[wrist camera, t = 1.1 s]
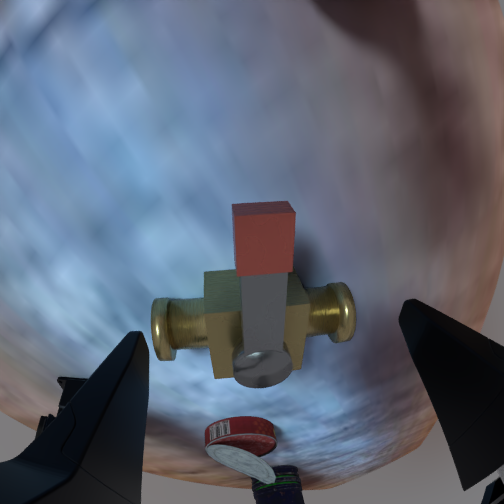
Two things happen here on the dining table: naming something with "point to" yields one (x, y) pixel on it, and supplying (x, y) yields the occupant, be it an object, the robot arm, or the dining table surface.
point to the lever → (262, 290)
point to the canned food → (242, 445)
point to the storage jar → (279, 487)
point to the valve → (229, 319)
